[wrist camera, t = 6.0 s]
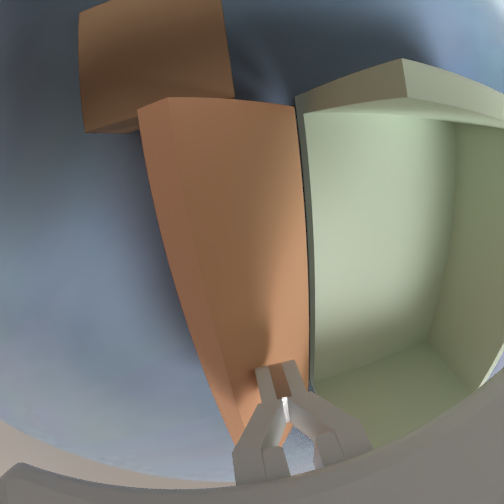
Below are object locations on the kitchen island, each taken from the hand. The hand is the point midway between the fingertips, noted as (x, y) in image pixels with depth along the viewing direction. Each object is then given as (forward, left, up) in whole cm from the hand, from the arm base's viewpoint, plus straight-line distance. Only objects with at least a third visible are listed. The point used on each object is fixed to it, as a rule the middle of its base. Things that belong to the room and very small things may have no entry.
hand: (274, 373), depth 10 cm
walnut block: (-12, -2, -7) cm, 14 cm away
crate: (0, +10, -7) cm, 12 cm away
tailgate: (0, +3, -6) cm, 6 cm away
